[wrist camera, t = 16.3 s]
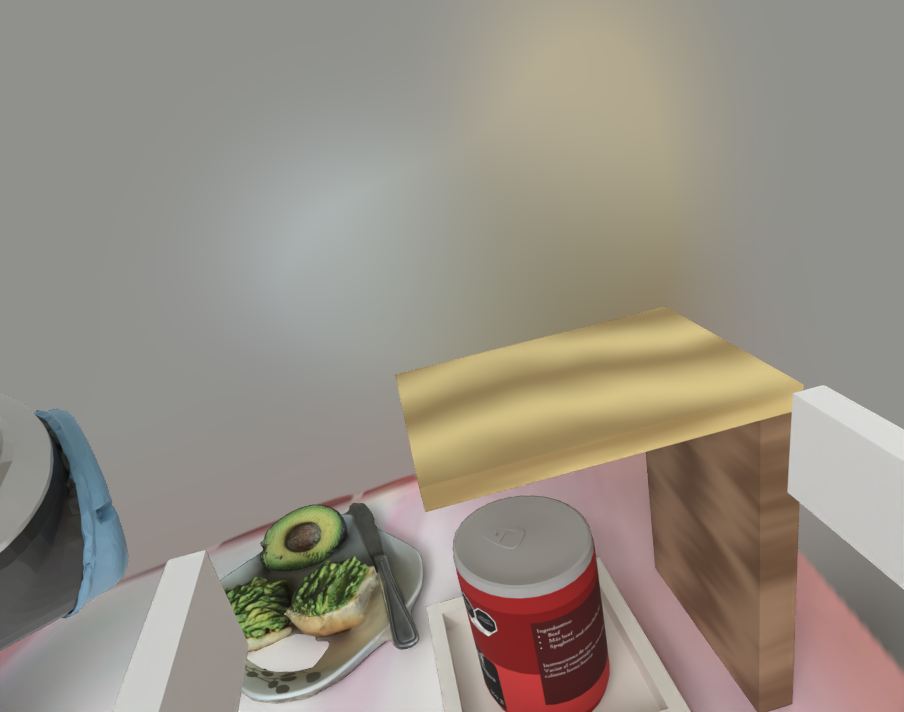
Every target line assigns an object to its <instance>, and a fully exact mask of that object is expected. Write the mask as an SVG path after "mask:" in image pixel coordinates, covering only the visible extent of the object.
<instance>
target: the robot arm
mask: <svg viewBox="0 0 904 712" xmlns="http://www.w3.org/2000/svg"><path fill="white" fill-rule="evenodd" d="M787 492H788V493H789V494H790V495H791V496H793V497H794V498H795V499H796V500H797V501H799V502H800V503H801V504H802V505H803V506H805V507H806V508H807V509H808V510H809V511H811V512H812V513H813V514H814V515H815V516H817V517H818V518H819V519H820V520H821V521H823V522H824V523H825V524H826V525H827V526H828V527H830V528H831V529H832V530H833V531H834V532H836V533H837V534H838V535H839V536H840V537H842V538H843V539H844V540H845V541H847V542H848V543H849V544H850V545H851V546H852V547H854V548H855V549H856V550H857V551H858V552H860V553H861V554H862V555H863V556H864V557H866V558H867V559H868V560H869V561H870V562H872V563H873V564H874V565H875V566H876V567H877V568H879V569H880V570H881V571H882V572H884V573H885V574H886V575H887V576H888V577H890V578H891V579H892V580H893V581H894V582H896V583H897V584H898V585H899V586H900V587H901V588H903V589H904V429H902V428H900V427H898V426H896V425H895V424H893V423H891V422H889V421H887V420H886V419H884V418H882V417H880V416H878V415H877V414H875V413H873V412H871V411H869V410H867V409H866V408H864V407H862V406H860V405H859V404H857V403H855V402H853V401H852V400H850V399H848V398H846V397H844V396H843V395H841V394H839V393H837V392H835V391H834V390H832V389H830V388H828V387H826V386H825V385H822V386H819V387H815V388H811V389H807V390H803V391H800V392H796V393H793V399H792V417H791V436H790V454H789V472H788V490H787ZM127 565H128V551H127V545H126V541H125V537H124V533H123V530H122V526H121V523H120V521H119V517H118V515H117V513H116V510H115V508H114V507H113V506H112V500H111V497H110V494H109V490H108V487H107V484H106V481H105V479H104V476H103V474H102V472H101V469H100V467H99V465H98V462H97V460H96V458H95V456H94V454H93V451H92V449H91V447H90V445H89V443H88V441H87V439H86V437H85V435H84V433H83V431H82V429H81V427H80V426H79V424H78V423H77V421H76V420H75V418H74V417H73V416H72V415H71V414H70V413H69V412H68V411H64V410H60V409H52V410H49V411H36V412H34V413H33V412H32V411H31V410H30V409H29V408H28V407H27V406H25V405H24V404H22V403H21V402H19V401H17V400H16V399H14V398H12V397H9V396H7V395H4V394H1V393H0V651H1V650H3V649H5V648H7V647H9V646H10V645H12V644H14V643H16V642H18V641H20V640H21V639H23V638H25V637H27V636H29V635H31V634H32V633H34V632H36V631H38V630H40V629H41V628H43V627H45V626H47V625H49V624H51V623H52V622H54V621H56V620H58V619H60V618H67V617H70V616H72V615H74V614H76V613H77V612H79V610H80V609H81V608H82V607H83V606H84V605H85V604H86V603H87V602H89V601H91V600H92V599H94V598H96V597H97V596H99V595H101V594H102V593H104V592H106V591H107V590H109V589H111V588H112V587H113V586H115V585H116V584H117V583H118V582H119V581H120V580H121V578H122V577H123V575H124V574H125V572H126V569H127ZM248 646H249V644H248V642H247V640H246V638H245V636H244V633H243V631H242V629H241V627H240V624H239V622H238V620H237V618H236V616H235V613H234V611H233V609H232V607H231V604H230V602H229V600H228V598H227V596H226V593H225V591H224V589H223V587H222V585H221V582H220V580H219V578H218V576H217V573H216V571H215V569H214V567H213V565H212V562H211V560H210V558H209V556H208V553H207V551H206V550H203V551H199V552H195V553H192V554H188V555H184V556H180V557H177V558H173V559H169V560H168V561H167V564H166V566H165V569H164V572H163V574H162V577H161V580H160V582H159V585H158V588H157V591H156V593H155V596H154V599H153V601H152V604H151V607H150V610H149V612H148V615H147V618H146V620H145V623H144V626H143V628H142V631H141V634H140V637H139V639H138V642H137V645H136V647H135V650H134V653H133V656H132V658H131V661H130V664H129V666H128V669H127V672H126V675H125V677H124V680H123V683H122V685H121V688H120V691H119V693H118V696H117V699H116V702H115V704H114V707H113V710H112V712H238V709H239V703H240V697H241V690H242V684H243V678H244V671H245V665H246V659H247V652H248Z"/></svg>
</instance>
